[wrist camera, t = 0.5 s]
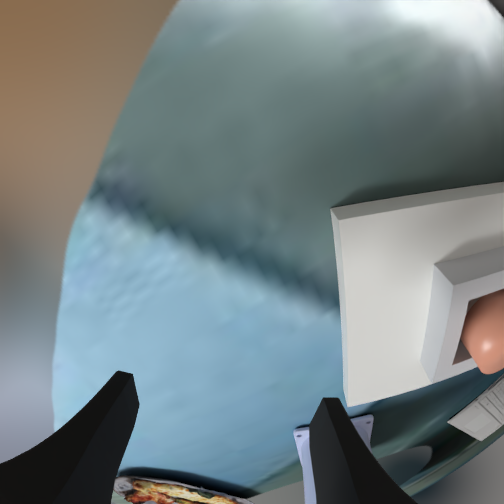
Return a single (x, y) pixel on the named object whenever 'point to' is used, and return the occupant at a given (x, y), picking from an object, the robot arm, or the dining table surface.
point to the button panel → (413, 285)
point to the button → (486, 332)
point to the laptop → (483, 413)
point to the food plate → (169, 492)
